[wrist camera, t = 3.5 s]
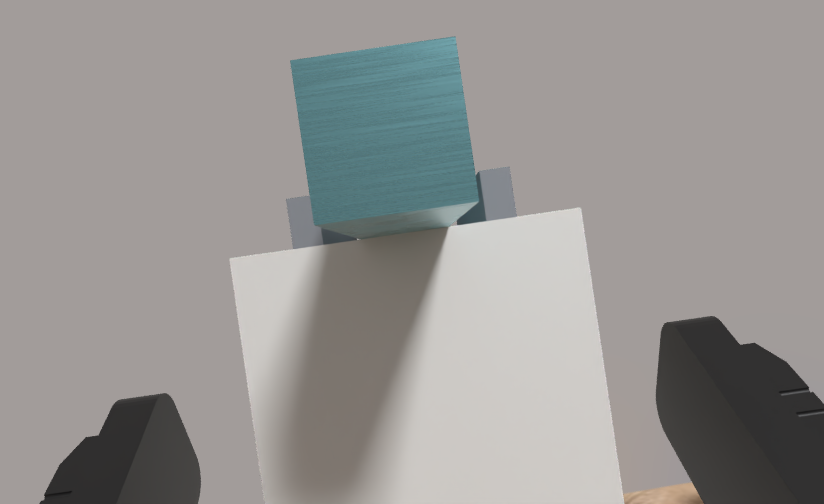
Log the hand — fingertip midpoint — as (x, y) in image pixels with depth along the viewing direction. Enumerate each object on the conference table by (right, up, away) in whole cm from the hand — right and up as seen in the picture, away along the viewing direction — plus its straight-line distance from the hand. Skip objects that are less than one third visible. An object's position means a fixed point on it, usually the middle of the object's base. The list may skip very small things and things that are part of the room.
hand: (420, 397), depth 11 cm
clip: (0, +3, +17) cm, 17 cm away
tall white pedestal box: (+4, -29, +23) cm, 37 cm away
